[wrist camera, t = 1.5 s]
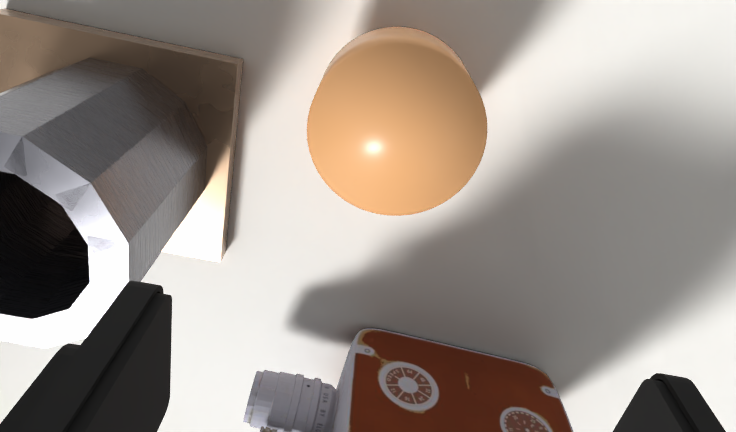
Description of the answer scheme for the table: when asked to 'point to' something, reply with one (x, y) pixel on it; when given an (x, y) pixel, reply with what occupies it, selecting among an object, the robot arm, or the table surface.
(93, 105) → the top hat
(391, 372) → the cine camera
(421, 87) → the cap
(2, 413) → the table surface
